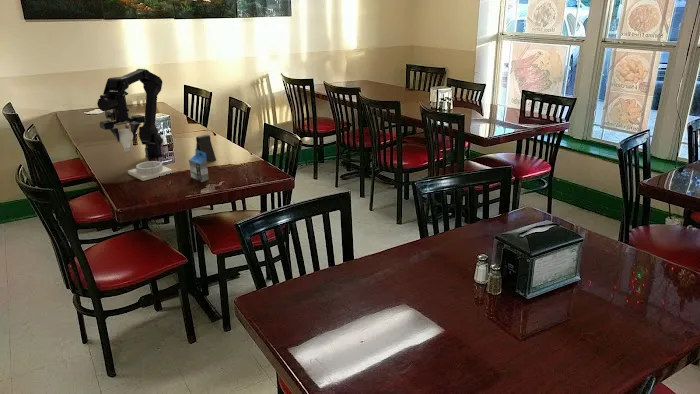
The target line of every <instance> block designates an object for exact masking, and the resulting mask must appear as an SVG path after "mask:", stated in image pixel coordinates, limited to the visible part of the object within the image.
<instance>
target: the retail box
mask: <svg viewBox="0 0 700 394" xmlns="http://www.w3.org/2000/svg"><path fill="white" fill-rule="evenodd" d="M194 150H195V154H194V155H193V156H192V157H190V158H189V159H188V163H189V164H188V165H189V170H190V178H191V179H194V180H196V181H199V182H200V183H204V182H205V183H206V182H209V171H208V162H207V160H206V153H204V152H202V151H199V150H196V148H195V149H194ZM199 153H201V154H202V155H203V156H202V155H200V154H199Z"/></svg>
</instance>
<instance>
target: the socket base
mask: <svg viewBox="0 0 700 394" xmlns="http://www.w3.org/2000/svg"><path fill="white" fill-rule="evenodd" d="M170 173H171V174H173V169H171V168H169V167H166V166H164V165H163V162H161V161H159V160H150V161H149V160H148V161H144V162H143V161H142V162H139V163H138V164H136V165H135V168H132V169H129V170H127V174H129V175H130V176H132V177H133V178H136V179H138V180H140V181H142V182H144V181H147V180H152V179H155V178H159V176H160V177H163V176H166V174H167V175H171V174H170Z"/></svg>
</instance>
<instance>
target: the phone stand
mask: <svg viewBox="0 0 700 394" xmlns="http://www.w3.org/2000/svg"><path fill="white" fill-rule="evenodd" d="M195 140H196V146H195V149H196V150H199V151H202V152H204V153H206V160H207V163H210V162H213V161H217V158H216V155H215V151H214V147H213V144H212V140H211V135H210V134H204V135H200V136H199V135H198V136H196V138H195ZM199 154H200V155H202V154H201V153H199ZM202 156H203V155H202Z"/></svg>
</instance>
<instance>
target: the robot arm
mask: <svg viewBox="0 0 700 394" xmlns="http://www.w3.org/2000/svg"><path fill="white" fill-rule="evenodd" d="M137 82H140V83H141V84H142V86H143V87H142V88H143V90H144V92H145V95H146V96H145V97H146V98H145V107H144V108H145V109H144V116H143V115H141V114H135V115H131V116H130V115H129V112H130V109H129V108H128V103H127V98H126V96H128V95H129V92H127V91H126V90H128V88H129V86H130V85H132V84H135V83H137ZM162 86H163V80H162V78H161V77H160V76H159V75H156V74H154V73H152V72H151V71H149V70H148V69H146V68H137V69H136V70H134V71H131V72H129V73H127V74H124V75H122V76H115V77H109V78H108V79H106V83H105V87H104V90H103V92H102V94H100V95H99V99H97V102H96V104H97V107H98V109H99V110H100V111H102V112H104V113H105V114H104V116H105V118H106V120H102V121H100V122H99V128H100V129H103V130H107V131H110V132H111V133H112V134H113V136H114V137H115V139H116V141H117V143H121V142H120V139H119V133H118V132H119V128H117V126H119V125H124V124H129V127H130V131H131V132H132V133H133V139H132V140H135V138H136V134H137V132H138V134H137V135H138V137H139V141H140V142H141V145H142V146H143V145H144V147H145V148H144V151H145V155H144V156H145V157H146V158H149V159H154V158H160V157H162V156H163V157H164V154H162V148H161V145H162V144H163V143H164V139H163V138H162V137H161V136H160V135H159V130H158V128H157V126H156V119H157V116H156V115H157V103H158V95H159V94H160V93H161V91H162V88H163V87H162ZM111 110H112V112H111ZM142 124H143V125H142ZM141 125H142V126H141Z"/></svg>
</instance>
